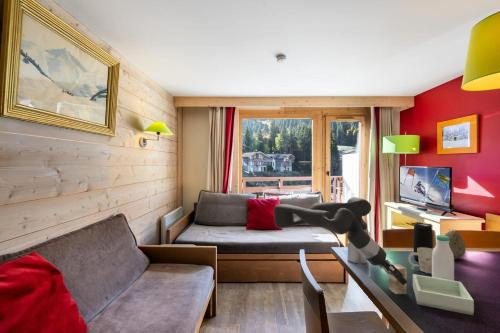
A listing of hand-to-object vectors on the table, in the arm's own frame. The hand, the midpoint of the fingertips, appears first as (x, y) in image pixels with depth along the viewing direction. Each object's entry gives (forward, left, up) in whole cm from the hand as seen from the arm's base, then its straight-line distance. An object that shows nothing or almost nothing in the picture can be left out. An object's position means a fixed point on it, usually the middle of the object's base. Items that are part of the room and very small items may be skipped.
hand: (398, 278), depth 105 cm
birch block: (0, 0, -5) cm, 5 cm away
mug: (+12, +29, -5) cm, 32 cm away
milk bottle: (+18, +18, -5) cm, 26 cm away
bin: (+14, 0, -5) cm, 15 cm away
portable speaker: (+14, +45, -5) cm, 48 cm away
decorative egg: (+29, +56, -5) cm, 63 cm away
